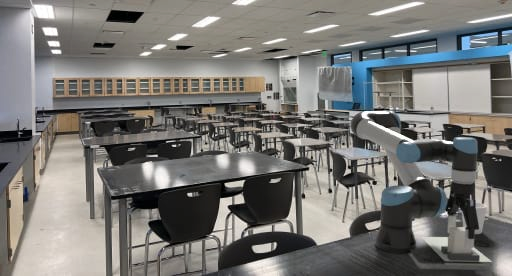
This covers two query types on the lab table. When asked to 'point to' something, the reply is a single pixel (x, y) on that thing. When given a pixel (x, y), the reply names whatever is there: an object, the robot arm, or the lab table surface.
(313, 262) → the lab table surface
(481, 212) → the foam cup
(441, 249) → the board
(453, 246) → the plug
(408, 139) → the robot arm
